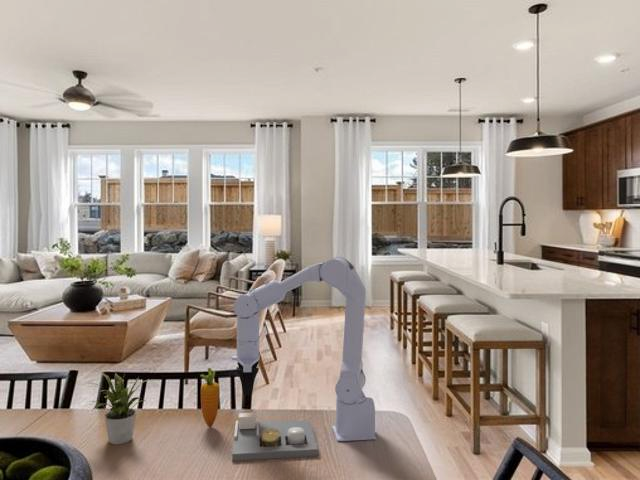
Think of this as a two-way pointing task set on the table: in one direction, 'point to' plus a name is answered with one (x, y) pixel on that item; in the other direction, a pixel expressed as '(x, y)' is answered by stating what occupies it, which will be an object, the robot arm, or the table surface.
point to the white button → (296, 436)
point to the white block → (246, 420)
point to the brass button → (270, 437)
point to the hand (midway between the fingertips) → (247, 391)
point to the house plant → (119, 411)
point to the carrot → (209, 398)
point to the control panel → (251, 439)
